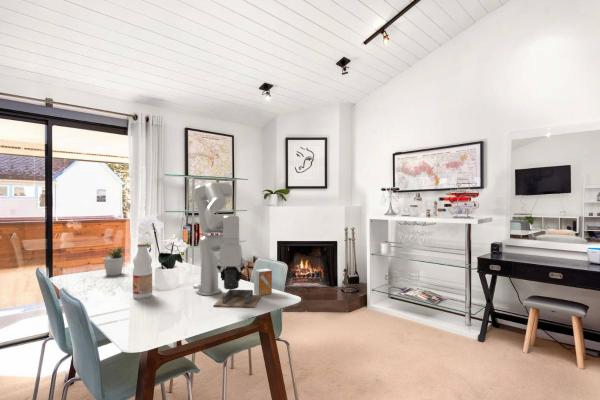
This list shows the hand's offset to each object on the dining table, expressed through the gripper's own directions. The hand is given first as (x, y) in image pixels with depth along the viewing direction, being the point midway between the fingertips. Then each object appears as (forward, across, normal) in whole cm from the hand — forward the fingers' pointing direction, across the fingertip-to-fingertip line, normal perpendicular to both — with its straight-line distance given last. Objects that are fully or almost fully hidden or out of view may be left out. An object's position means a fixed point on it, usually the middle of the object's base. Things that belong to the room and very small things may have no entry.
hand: (231, 279), depth 160 cm
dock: (+15, 0, +14) cm, 20 cm away
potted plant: (+14, -98, +66) cm, 119 cm away
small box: (+15, +10, +29) cm, 34 cm away
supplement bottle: (+4, 0, 0) cm, 4 cm away
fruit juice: (+14, -53, +19) cm, 58 cm away
